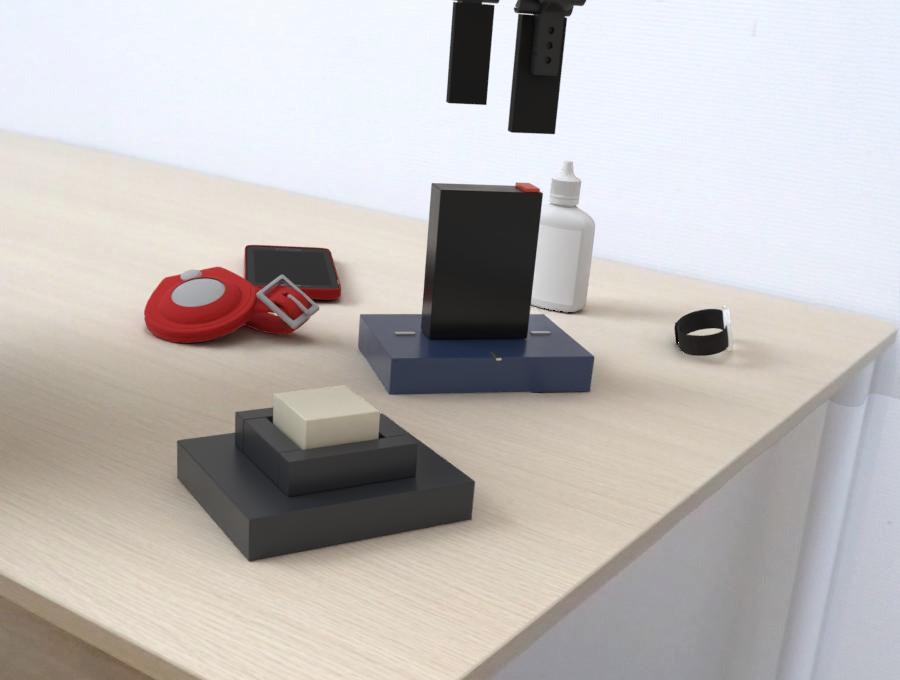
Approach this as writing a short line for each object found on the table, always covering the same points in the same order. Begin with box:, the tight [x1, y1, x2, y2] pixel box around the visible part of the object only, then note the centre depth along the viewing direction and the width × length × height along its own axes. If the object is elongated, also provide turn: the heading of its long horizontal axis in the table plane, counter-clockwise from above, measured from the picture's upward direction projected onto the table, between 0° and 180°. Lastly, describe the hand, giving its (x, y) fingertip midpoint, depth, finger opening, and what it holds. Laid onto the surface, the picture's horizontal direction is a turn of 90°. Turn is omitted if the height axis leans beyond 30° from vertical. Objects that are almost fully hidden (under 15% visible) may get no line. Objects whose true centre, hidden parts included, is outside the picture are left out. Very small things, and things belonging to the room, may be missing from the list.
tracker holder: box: [143, 266, 320, 344], centre depth 86 cm, size 12×4×10 cm
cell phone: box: [243, 244, 342, 301], centre depth 100 cm, size 8×15×1 cm, turn 9°
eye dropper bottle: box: [531, 160, 596, 313], centre depth 97 cm, size 4×6×12 cm
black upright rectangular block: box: [421, 181, 544, 339], centre depth 79 cm, size 7×2×10 cm, turn 106°
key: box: [272, 384, 381, 450], centre depth 59 cm, size 4×4×2 cm
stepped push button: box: [176, 406, 476, 563], centre depth 60 cm, size 12×10×4 cm
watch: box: [673, 304, 735, 357], centre depth 90 cm, size 8×5×4 cm, turn 170°
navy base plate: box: [357, 313, 595, 396], centre depth 81 cm, size 14×11×3 cm
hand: (496, 117), depth 75 cm, fingers open, 13 cm apart
